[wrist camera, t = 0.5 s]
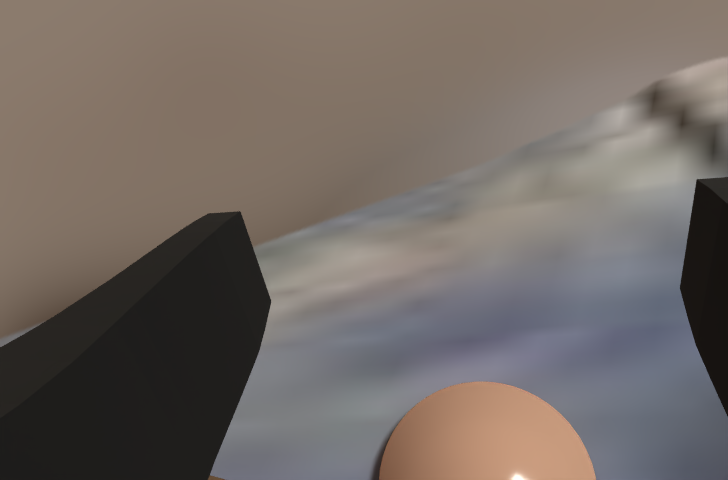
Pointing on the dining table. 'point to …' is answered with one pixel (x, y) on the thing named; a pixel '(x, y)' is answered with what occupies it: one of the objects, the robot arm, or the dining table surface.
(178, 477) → the robot arm
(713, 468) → the dining table surface
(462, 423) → the dish
